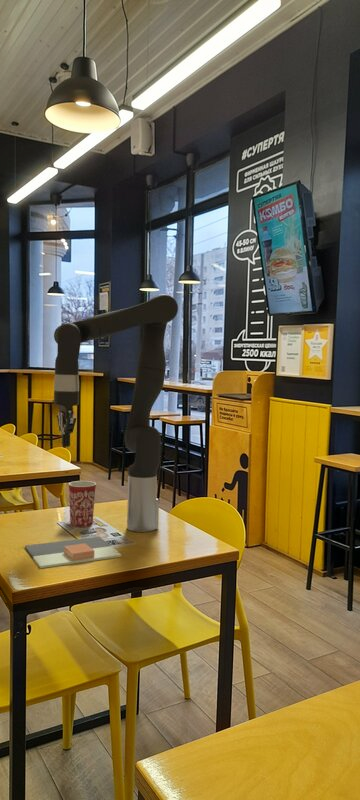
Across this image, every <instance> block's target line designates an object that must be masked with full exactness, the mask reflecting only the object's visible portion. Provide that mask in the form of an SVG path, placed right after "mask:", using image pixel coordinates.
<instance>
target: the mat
mask: <svg viewBox="0 0 360 800" xmlns="http://www.w3.org/2000/svg"><path fill="white" fill-rule="evenodd" d="M83 543H85V544H87V545H88V546H89V547H90V548H92V549H93V550H94V557H92V558H86V559H79V560H72V559H70V558H69V557H68V556H67V555H66V554H65V553H64V546H69V545H76V544H83ZM24 549H25V550H26V551H27V552H28V554H29V555H30V556H31V558H32V559H33V561H34V562H35V563H36V565H37V566H38V568H40V569H44V568H45V569H46V568H53V567H60V566H67V565H73V564H80V563H81V564H82V563H87V562H94V561H99V560H100V561H101V560H102V561H103V560H107V559H108V560H109V559H116V558H122V553H120V552H119V551H118V550H116V549H115V548H114V547H113V546H112V545H110V544H109V543H108V542H107V541H105V540H104V538H102V537H100V536H92V537H84V538H76V539H70V540H69V539H68V540H60V541H53V542H52V541H51V542H44V543H36V544H28V545H24Z"/></svg>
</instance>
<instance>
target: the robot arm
mask: <svg viewBox="0 0 360 800" xmlns="http://www.w3.org/2000/svg"><path fill="white" fill-rule="evenodd" d="M178 313H179V305H178V302H177V301H176V299H175V298H174V297H173V296H172V295H169V294H166V293H163V294H162V293H160V294H157V295H155V296H152V297H151V298H149V299H148V300H146V301H145V302H142V303H140V304H137V305H134V306H130V307H127V308H122V309H117V310H113V311H108V312H105V313H101V314H96V315H93V316H90V317H87V318H84V319H82V320H78V321H73V322H67V323H63V324H60V325H59V326H57V328H56V329H55V330H54V333H53V340H54V341H55V343H56V344H57V347H56V348H57V350H56V351H57V352H56V353H57V354H56V358H55V361H54V380H53V405H54V406H56V407H57V406H58V407H59V411H58V413H57V414H56V419H57V425H58V431H59V432H60V435H61V447H63V448H68V447H71V435H72V434H73V432H74V429H75V426H76V422H77V418H76V416H75V411H74V407H75V406H79V404H80V379H79V374H80V373H79V372H80V371H79V369H80V368H79V357H80V351H81V344H82V343H84V342H88V341H93V340H99V339H102V338H106V337H109V336H113V335H116V334H118V333H121V332H124V331H126V330H130V329H132V328H135V327H139V326H142V327H143V328H142V338H141V343H140V349H139V355H138V361H137V367H136V372H135V381H134V388H133V389H134V390H133V396H132V400H131V401H132V402H131V405H130V412H129V416H128V420H127V424H126V429H125V431H124V444H125V447H126V448H127V450H128V451H130V452H132V453H135V458H134V460H135V461H134V463H132V464H131V465H129V466H128V469H127V510H126V511H127V513H126V514H127V515H126V517H127V519H126V523H127V524H126V528H127V530H129V531H131V532H139V533H148V532H151V531H154V530H159V514H160V513H159V512H160V509H159V507H160V506H159V505H160V500H159V498H157V494H158V493H157V490H158V489H157V487H158V486H157V485H158V484H157V483H158V482H157V481H158V480H157V479H158V469H159V467H160V463H161V453H162V451H161V450H162V438H161V434H160V431H159V430H158V428H156V427H154V426H150V425H149V423H150V415H151V412H152V408H153V407H154V405H155V403H156V400H157V399H158V398H159V396H160V394H161V392H162V391H163V387H164V385H165V377H166V370H167V369H166V368H167V361H166V352H165V334H166V330H167V326H168V323H170V322H172V321H173V320H174V319H176V318H175V317H177V315H178Z"/></svg>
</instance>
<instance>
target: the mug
mask: <svg viewBox="0 0 360 800" xmlns="http://www.w3.org/2000/svg"><path fill="white" fill-rule="evenodd" d="M96 486H97V483H96V482H95V481H89V480H76V481H71V482H68V493H69V494H68V497H69V498H68V499H69V501H68V502H69V522H70V523H69V525H70V526H72V527H75V526H76V528H84V527H86V526H87V527H90V526H92V525H93V522H94V510H95V497H96Z"/></svg>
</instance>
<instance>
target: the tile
mask: <svg viewBox="0 0 360 800" xmlns="http://www.w3.org/2000/svg"><path fill="white" fill-rule="evenodd" d="M64 553H65V554H66V555H67V556H68V557H69V558H70V559H72V560H79V559H86V558H92V557H94V550H93V549H92V548H90V547H89V546H88V545H87V544H85V543H83V544H76V545H69V546H64Z"/></svg>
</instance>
